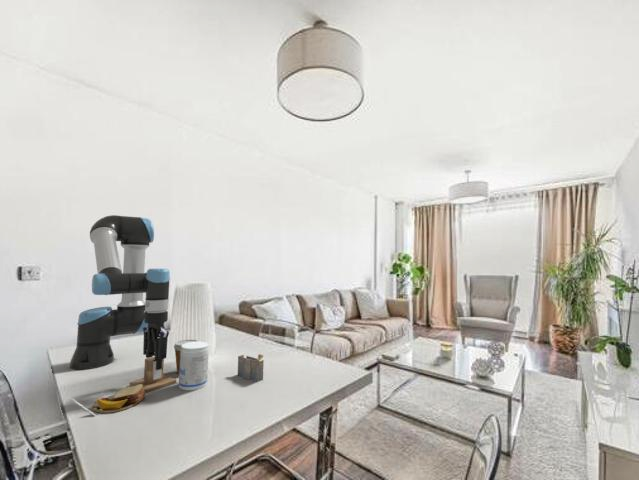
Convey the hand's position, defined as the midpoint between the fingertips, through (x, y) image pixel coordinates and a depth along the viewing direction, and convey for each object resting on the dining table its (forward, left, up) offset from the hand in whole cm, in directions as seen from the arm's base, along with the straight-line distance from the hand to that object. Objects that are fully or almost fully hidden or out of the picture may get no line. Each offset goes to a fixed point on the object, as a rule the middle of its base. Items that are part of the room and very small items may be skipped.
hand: (153, 377), depth 111 cm
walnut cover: (0, 0, -3) cm, 3 cm away
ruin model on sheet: (+22, +26, -4) cm, 34 cm away
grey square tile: (0, 0, -3) cm, 3 cm away
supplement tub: (+12, +8, -3) cm, 15 cm away
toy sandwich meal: (+6, -13, -4) cm, 15 cm away
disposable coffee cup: (-2, +14, -3) cm, 15 cm away
